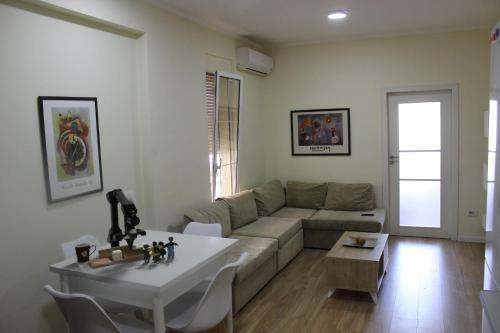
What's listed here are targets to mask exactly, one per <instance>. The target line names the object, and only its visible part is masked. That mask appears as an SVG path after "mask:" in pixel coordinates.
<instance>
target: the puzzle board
mask: <svg viewBox="0 0 500 333" xmlns="http://www.w3.org/2000/svg"><path fill="white" fill-rule="evenodd" d="M137 243H138V242H135V243H134V244H137ZM140 243H142V242H140ZM143 249H144V248H141V249H136V250H134V249H130V248H129V246H128V244H125V245H120V246H119V247H113V248H111V247H109V248H103V249H98V250H97V251H98V258H94V259H89V261H88V264H89V265H90V266H91V267H92V268H93V269H98V268H102V267H107V266H111V265H117V264H121V263H127V262H132V261H137V260H141V259H144V253H140V251H142V250H143ZM116 250H120V251H122V260H117V261H113V260H112V251H116ZM149 254H150V258H153V256H151V255H152V253H151V252H149Z"/></svg>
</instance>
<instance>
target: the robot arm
mask: <svg viewBox="0 0 500 333" xmlns="http://www.w3.org/2000/svg"><path fill="white" fill-rule="evenodd" d="M105 198H106V201H107V203H108V204H109V210H110V226H111V227H110V228H109V230H108V234H107V238H106V240H107V241H106V242H107V243H108V244H110V248H113V247H119V246H121V244H120V242H123V240H125V242H126V245H128V246H129V248H130V249H132V246H133V244H134V242H135V240H136V239H138V236H141V237H145V236H147V231H146V230H145V229H141V227H139V228H136V226H137V227H138V226H139V224H140V223H141V220H140V217H139V216H137V215H138V214H139V213H138V209H137V207H136V204H135V203H134V202H133V200H130V199H128V198H127V197H126V195H125V193H124V192H123V190H122V189H121V188H114V189H112V190H110V191H107V193H106V194H105ZM119 205H120V210H121V213H122V215H123V227H124V232H123V229H122V228H120V222H119Z"/></svg>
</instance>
